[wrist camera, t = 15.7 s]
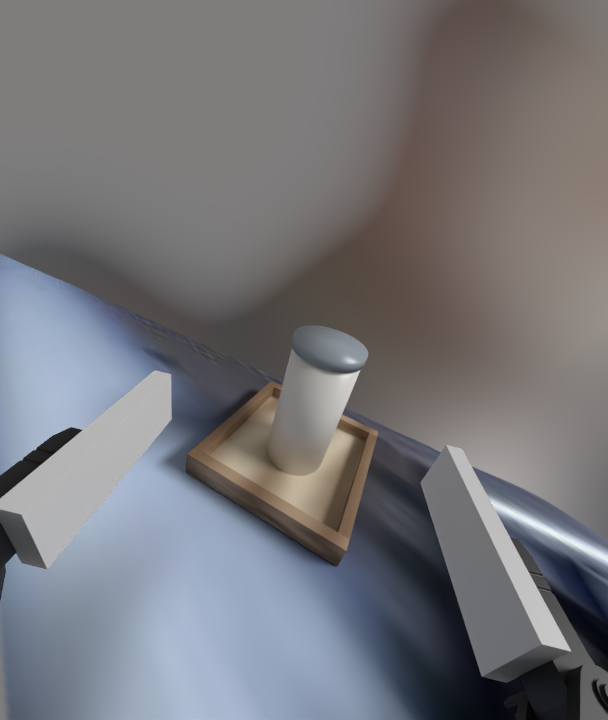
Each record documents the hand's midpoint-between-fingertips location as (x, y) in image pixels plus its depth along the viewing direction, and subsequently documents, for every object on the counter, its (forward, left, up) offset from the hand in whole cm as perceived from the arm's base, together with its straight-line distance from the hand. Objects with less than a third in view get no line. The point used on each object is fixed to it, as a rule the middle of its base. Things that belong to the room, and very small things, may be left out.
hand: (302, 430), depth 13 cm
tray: (-1, -12, -15) cm, 20 cm away
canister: (-1, -12, -14) cm, 19 cm away
